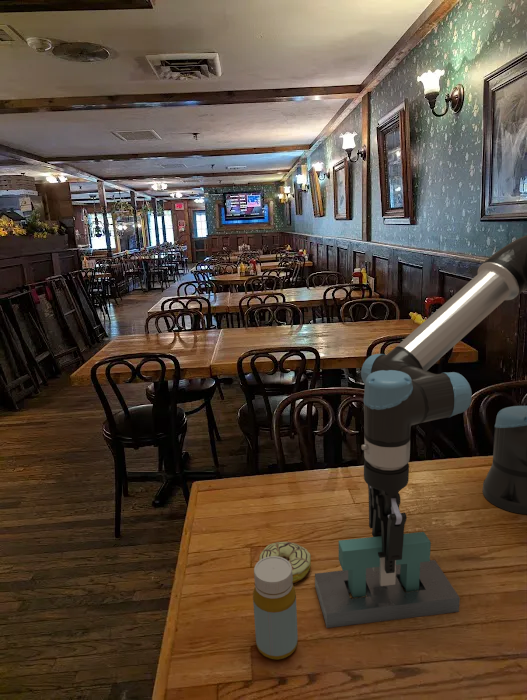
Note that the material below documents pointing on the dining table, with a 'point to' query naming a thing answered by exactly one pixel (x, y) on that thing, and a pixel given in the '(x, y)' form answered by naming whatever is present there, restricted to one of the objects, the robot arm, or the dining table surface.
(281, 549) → the decorated donut
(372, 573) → the slotted metal plate
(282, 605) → the bottle
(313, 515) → the dining table surface
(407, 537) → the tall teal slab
